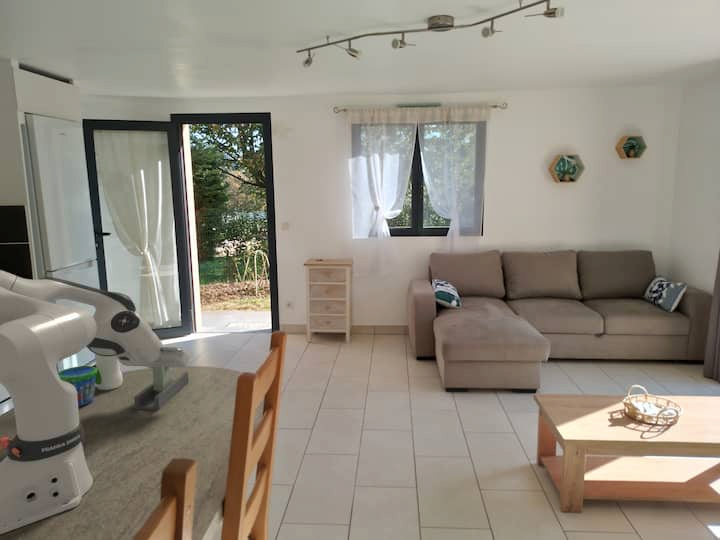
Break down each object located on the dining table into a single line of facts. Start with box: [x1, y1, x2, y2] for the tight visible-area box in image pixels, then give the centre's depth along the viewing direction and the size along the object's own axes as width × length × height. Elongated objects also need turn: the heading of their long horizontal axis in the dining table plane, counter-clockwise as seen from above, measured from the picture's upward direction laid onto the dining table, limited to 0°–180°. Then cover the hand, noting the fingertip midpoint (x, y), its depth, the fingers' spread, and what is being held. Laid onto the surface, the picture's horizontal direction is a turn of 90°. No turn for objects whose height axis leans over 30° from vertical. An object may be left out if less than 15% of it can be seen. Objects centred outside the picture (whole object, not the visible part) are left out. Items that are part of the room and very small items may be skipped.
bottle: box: [94, 353, 124, 391], centre depth 159 cm, size 8×8×30 cm
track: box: [133, 371, 190, 411], centre depth 154 cm, size 22×7×4 cm, turn 177°
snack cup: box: [58, 365, 102, 407], centre depth 147 cm, size 16×10×10 cm
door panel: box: [152, 367, 172, 390], centre depth 153 cm, size 6×3×10 cm, turn 178°
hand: (162, 368), depth 154 cm, fingers closed on door panel, 3 cm apart
